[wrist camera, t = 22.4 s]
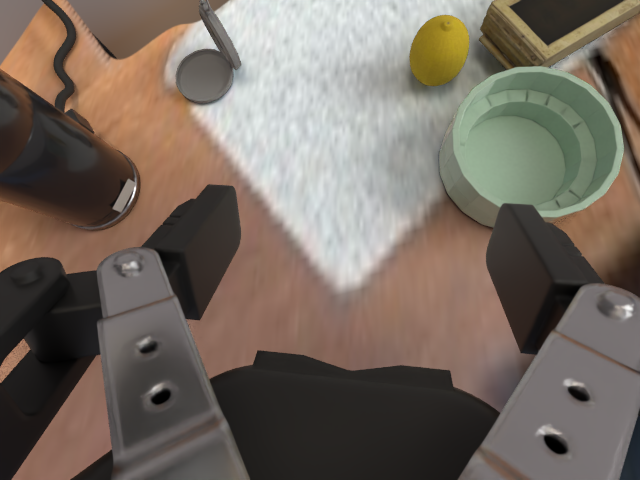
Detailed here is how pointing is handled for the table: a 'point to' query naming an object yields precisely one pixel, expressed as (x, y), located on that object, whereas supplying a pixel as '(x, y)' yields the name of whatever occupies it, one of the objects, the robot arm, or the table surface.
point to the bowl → (530, 145)
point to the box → (548, 28)
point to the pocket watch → (208, 63)
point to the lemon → (439, 50)
